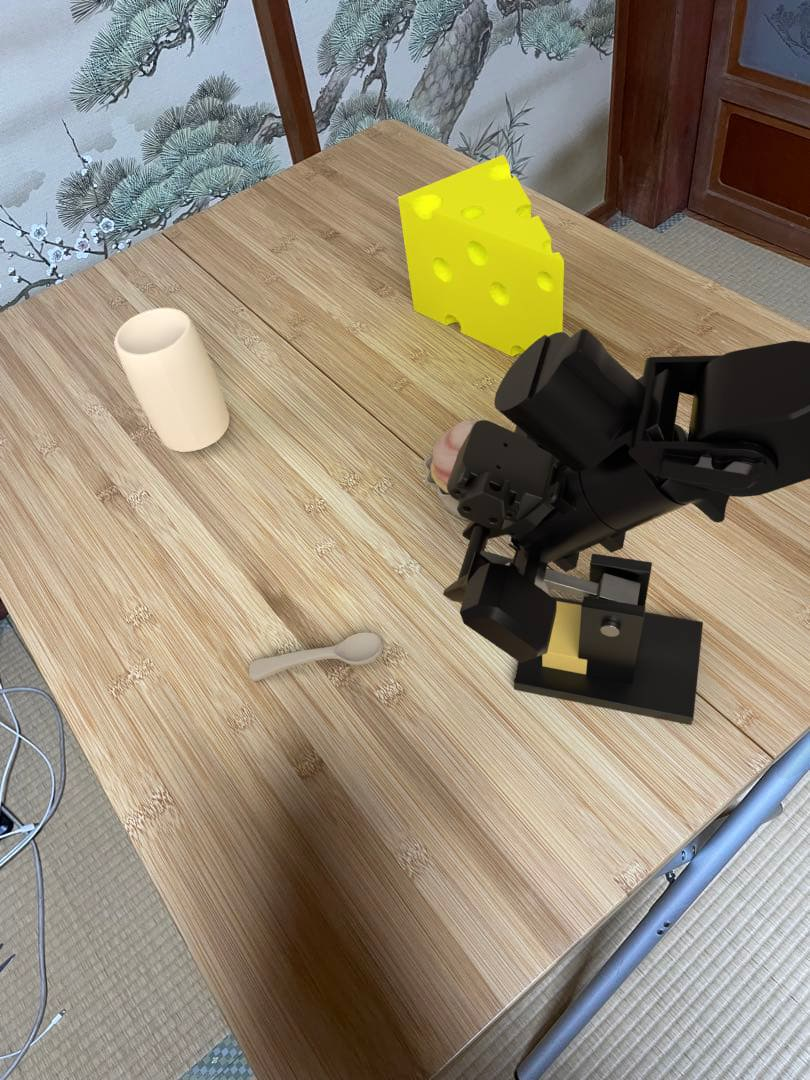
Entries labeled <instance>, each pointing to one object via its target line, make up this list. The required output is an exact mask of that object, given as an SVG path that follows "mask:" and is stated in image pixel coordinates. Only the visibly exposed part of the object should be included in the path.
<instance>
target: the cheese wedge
mask: <svg viewBox="0 0 810 1080" xmlns="http://www.w3.org/2000/svg"><path fill="white" fill-rule="evenodd" d="M397 200H398V201H397V202H398V208H399V215H400V221H401V229H402V236H403V243H404V248H405V250H404V251H405V256H406V263H407V270H408V277H409V278H408V280H409V285H410V292H411V299H412V307H413V312H417V313H418V314H421V315H423V316H424V317H427V318H428V319H431V320H433V321H434V322H437V323H440V324H442V325H444V326H446V327H447V326H449V325H451V324H453V323H458V324H459V325H460V333H461V334H463V335H465V336H468V337H469V338H472V339H474V340H476V341H478V342H480V343H482V344H484V345H487V346H489V347H491V348H493V349H494V350H497V351H499V352H501V353H503V354H505V355H508V356H510V357H512V358H513V357H514V356H516V355H519V354H520V355H521V354H522V353H523V352H524V351H525V350H526V349H527V348H528V347H529V346H531V345H532V344H533V343H534V342H535V341H537V340H538V339H539V338H541V337H542V336H544V335H547V336H550V335H552V334H554V333H558V332H563V325H564V323H563V322H564V285H565V284H564V282H565V281H564V279H565V277H564V276H565V260H564V258H563V257H562V255H561V253H560V251H557V252H553V250H552V239H553V238H552V237H551V235H550V233H549V232H548V230H547V228H546V227H545V224H544V222H543V221H542V220H541V217H540V216H539V215H538V214H537V215H535V216H532V206H533V204H532V202H531V200H530V199H529V196H528V195H527V193H526V191H525V190H524V188H523V186H522V185H521V182H520V181H519V179H518V177H517V176H516V174H515V175H514V176H513V177H512V174H511V167H510V163H509V162H508V160H507V158H506V155H505V154H502V155H498V156H496V157H494V158H491V159H489V160H487V161H484V162H482V163H480V164H476V165H474V166H471V167H470V168H466V169H464V170H462V171H460V172H457V173H454V174H452V175H449V176H446V177H444V178H441V179H439V180H437V181H434V182H432V183H429V184H427V185H425V186H422V187H419V188H416V189H414V190H411V191H410V192H408V193H405V194H403V195H400V196H398V197H397Z"/></svg>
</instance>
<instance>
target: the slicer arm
mask: <svg viewBox="0 0 810 1080" xmlns="http://www.w3.org/2000/svg"><path fill="white" fill-rule="evenodd" d="M489 534H490V530H489V528H487V527H485V526H482V525H476V526H475V527H474V529H473V532H472V535H471V538H470V541H469V540H468V545H467V548H466V551H465V554H464V557H463V561H462V565H461V567H460V570H459V573H458V577H457V580H458V579H460V578H462V577H463V576H465V575H466V574H468V573H469V570H470V567H471V564H472V560H473V557H474V554H475V551H477V552H478V553H480V554H481V555H483V556H484V557H485V558H487V559H488V560H489V561H491V562H492V563H497V564H504V565H505V564H507V563H509V562H511V563H513V559H514V558H510V557H508V556H504V555H500V554H497V553H493V552H490V551H487V550H486V548H487V544H488V542H489V539H488V538H489ZM544 582H545V584H546V586H547V587H548V590H551V591H555V592H559V593H563V594H565V595H569V596H573V597H576V598H579V599H583V597H584V596H586V597H592V598H598V599H604V600H610V601H616V602H622V603H628V604H634V605H637V603H638V597H639V590H640V583H638V582H634V581H631V580H627V579H624V578H620V577H616V576H613V575H609V574H606V573H603V575H602V577H601V579H600V582H599V583H595V582H592V581H589V579H585V578H582V577H578V576H574V575H571V574H567V573H564V572H560V571H556V570H554V569H549V568H547V570H546V574H545V579H544Z"/></svg>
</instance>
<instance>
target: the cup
mask: <svg viewBox="0 0 810 1080" xmlns="http://www.w3.org/2000/svg"><path fill="white" fill-rule="evenodd" d="M113 345H114V349H115V351H116V353H117V357H118V359H119V362H120V364H121V367H122V368H123V372H124V374H125V376H126V378H127V380H128V382H129V384H130V386H131V388H132V390H133V393H134V394H135V396H136V398H137V400H138V402H139V405H140V406H141V407H142V409H143V412H144V413H145V415H146V417H147V419H148V420H149V422H150V424H151V426H152V427H153V429H154V431H155V432H156V434H157V436H158V437H159V439H160V440H161V442H162V443H163V445H165V447H166V448H168V449H170V450H173V451H175V452H181V453H186V452H188V453H189V452H195V451H199V450H202V449H205V448H208V447H209V446H211V445H213V444H215V443H216V442H218V441H219V440H220V439H221V438H222V437H223V435H224V434H225V433H226V431H227V430H228V428H229V424H230V414H229V409H228V407H227V402H226V399H225V397H224V394H223V390H222V388H221V385H220V382H219V379H218V376H217V374H216V370H215V369H214V368H215V367H214V366H213V363H212V361H211V358H210V356H209V354H208V352H207V349H206V347H205V344H204V343H203V340H202V338H201V336H200V334H199V333H198V330H197V328H196V327H195V324H194V323H193V320H192V318H190V316H189V315H188V314H187V313H186V312H184V311H183V310H180V309H177V308H173V307H157V308H152V309H148V310H145V311H143V312H140V313H138V314H136V315H134V316H132V317H130V318H129V319H127V320H126V321H125V322H124V323H123V324H122V325H121V326H120V328H118V330H117V332H116V334H115V337H114V341H113Z"/></svg>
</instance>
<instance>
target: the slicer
mask: <svg viewBox="0 0 810 1080" xmlns="http://www.w3.org/2000/svg"><path fill="white" fill-rule="evenodd" d="M652 567H653V562H652V561H646V560H638V559H633V558H627V557H619V556H613V555H606V554H600V553H598V554H597V553H592V554H591V557H590V562H589V577H588V581H592V582H595V583H599V582H600V579H601V577H602V575H603V573H606V574H609V575H613V576H616V577H620V578H624V579H627V580H631V581H634V582H638V583H640V590H639V597H638V603H637V605H634V604H628V603H622V602H616V601H610V600H604V599H598V598H592V597H586V596H584V597H583V598H582V600H576V599H575V600H574V599H569V598H563V597H557V596H552V597H553V598H554V599H555V600H557V601H559V602H565V603H571V604H577V605H582V606H581V620H580V636H579V651H578V658H579V659H584V660H587V668H586V674H581V673H575V672H570V671H565V670H560V669H554V668H549V667H544V666H542V655H541V656H538V657H535V658H532V659H529V660H526V661H523V662H519V661H517V667H516V671H515V676H514V679H513V690H515V691H519V692H524V693H529V694H534V695H539V696H543V697H549V698H554V699H558V700H563V701H568V702H572V703H578V704H583V705H589V706H592V707H593V706H594V707H597V708H602V709H603V708H605V709H608V710H614V711H618V712H624V713H628V714H632V715H633V714H634V715H639V716H642V717H643V716H644V717H649V718H652V719H657V720H664V721H668V722H672V723H677V724H678V723H679V724H683V725H688V726H692V725H693V722H694V717H695V709H696V697H697V686H698V678H699V677H698V676H699V669H700V668H699V667H700V658H701V657H700V656H701V648H702V636H703V627H704V622H703V621H700V620H695V619H688V618H683V617H675V616H671V615H665V614H658V613H652V612H647V611H646V604H647V603H646V602H647V596H648V591H649V585H650V579H651V572H652Z"/></svg>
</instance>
